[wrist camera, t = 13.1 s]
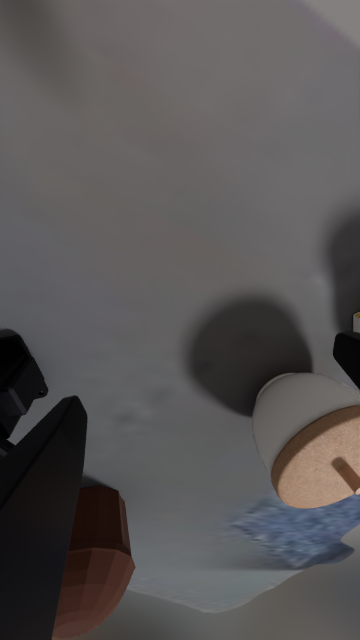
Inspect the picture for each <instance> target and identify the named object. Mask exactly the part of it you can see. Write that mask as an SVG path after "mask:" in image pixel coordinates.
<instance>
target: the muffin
mask: <svg viewBox="0 0 360 640" xmlns="http://www.w3.org/2000/svg"><path fill="white" fill-rule="evenodd" d="M134 569H135V565H134V562H133V559H132V557H131V549H130V541H129V533H128V525H127V517H126V509H125V502H124V500H123V499H122V498H121V496H120V494H119V491H117V490H112V489H108V488H106V487H103V486H95V487H89V488H80V490H79V495H78V500H77V506H76V511H75V517H74V522H73V527H72V533H71V538H70V543H69V549H68V554H67V559H66V565H65V570H64V576H63V581H62V586H61V592H60V597H59V602H58V608H57V613H56V619H55V624H54V629H53V635H52V637H58V638H68V637H74V636H79V635H81V634H84V633H86V632H88V631H90V630H92V629H94V628H96V627H97V626H99V625H100V624H101V623H103V622H104V620H105V619H106V618H107V617H108V616H109V615H110V614H111V613H112V612H113V611H114V609H115V608H116V607H117V606H118V604H119V602H120V600H121V598H122V596H123V594H124V592H125V590H126V588H127V586H128V584H129V581H130V579H131V576H132V574H133V571H134Z"/></svg>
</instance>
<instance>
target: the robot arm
mask: <svg viewBox="0 0 360 640" xmlns="http://www.w3.org/2000/svg"><path fill="white" fill-rule="evenodd" d="M13 340H15V341H17V343H14V342H13ZM333 356H334V358H335V360H336V361H337V362H338V364H339V365H340V366H341V367H342V369H343V370H344V371H345V372H346V374H347V375H348V376H349V377H350V379H351V380H352V381H353V382H354V384H355V385H356V386H357V387H358V388H359V390H360V333H359V332H354V331H345V332H341V333H338V334H337V335H336V337H335V342H334V348H333ZM40 391H43V392H40ZM47 393H48V388H47V386H46V384H45V382H44V377H43V375H42V373H41V371H40V369H39V367H38V365H37V363H36V361H35V359H34V358H33V357H32V356H31V355H30V353H29V351H28V349H27V347H26V345H25V343H24V341H23V339H22V338H21V337H20V336H17V335H13V336H8V337H3V338H0V640H52V635H53V629H54V624H55V619H56V613H57V608H58V602H59V597H60V592H61V586H62V581H63V576H64V570H65V565H66V559H67V554H68V549H69V543H70V538H71V533H72V527H73V522H74V517H75V511H76V506H77V500H78V495H79V490H80V484H81V479H82V473H83V467H84V457H85V444H86V432H87V413H86V411H85V409H84V407H83V405H82V403H81V401H80V399H79V397H78V396H75V395H74V396H70V397H66V398H63V399H62V400H61V401H60V402H59V403H58V404H57V405H56V406H55V407H54V408H53V409H52V410H51V411H50V412H49V413H48V414H47V415H46V416H45V417H44V418H43V419H42V420H41V421H40V422H39V423H38V424H37V425H36V426H35V427H34V428H33V429H32V430H31V431H30V432H29V433H28V434H27V435H26V436H25V437H24V438H23V439H22V440H21V441H20V442H19V443H17V444H16V445H14V444H12V443H11V442H9V441H8V440H7V439H8V438H9V437H10V435H11V434H12V432H13V430H14V428H15V426H16V424H17V423H18V421H19V419H20V417H21V416H22V415H25V414H26V413H27V412H28V410H29V408H30V406H31V404H32V402H33V400H34V399H38V398H42V397H45V396H46V395H47Z"/></svg>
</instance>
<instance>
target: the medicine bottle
mask: <svg viewBox="0 0 360 640" xmlns="http://www.w3.org/2000/svg"><path fill="white" fill-rule="evenodd" d="M353 331H354V332H359V333H360V312H358V313H355V314H354V315H353Z"/></svg>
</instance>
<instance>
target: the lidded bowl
mask: <svg viewBox="0 0 360 640" xmlns="http://www.w3.org/2000/svg"><path fill="white" fill-rule="evenodd" d="M252 430H253V437H254V441H255V444H256V448H257V450H258V453H259V455H260V458H261V460H262V462H263V465H264V467H265V469H266V471H267V473H268V475H269V476H270V478H271V482H272V484H273V487H274V489H275V491H276V493H277V495H278V496H279V498H280V499H281V500H282V501H283V502H284V503H286V504H287V505H289V506H292V507H295V508H316V507H321V506H325V505H329V504H332V503H335V502H337V501H340V500H342V499H344V498H346V497H349V496H351V495H352V494H354V493H355V494H356V495H359V494H360V393H359V392H358V391H356V390H354V389H353V388H351V387H349V386H348V385H346V384H344V383H342V382H340V381H338V380H336V379H334V378H331V377H328V376H325V375H321V374H315V373H285V374H281V375H278V376H276V377H274V378H273V379H271V380H270V381H268V382H267V383H266V384H265V385H264V386H263V387H262V388H261V390H260V391H259V393H258V395H257V398H256V404H255V407H254V411H253V415H252Z"/></svg>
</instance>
